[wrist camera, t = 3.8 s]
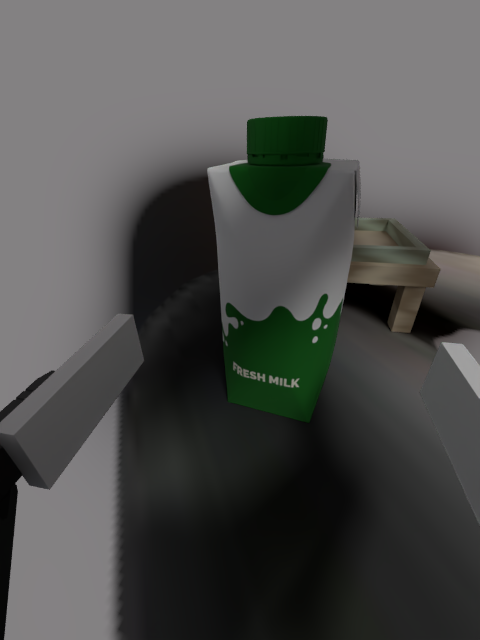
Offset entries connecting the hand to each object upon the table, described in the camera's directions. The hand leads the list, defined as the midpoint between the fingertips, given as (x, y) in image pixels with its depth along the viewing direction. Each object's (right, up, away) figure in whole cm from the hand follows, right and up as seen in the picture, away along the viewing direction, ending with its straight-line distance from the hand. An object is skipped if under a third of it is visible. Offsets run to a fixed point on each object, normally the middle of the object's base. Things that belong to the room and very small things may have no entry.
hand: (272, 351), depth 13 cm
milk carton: (+2, -5, +14) cm, 15 cm away
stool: (+12, +4, +28) cm, 31 cm away
